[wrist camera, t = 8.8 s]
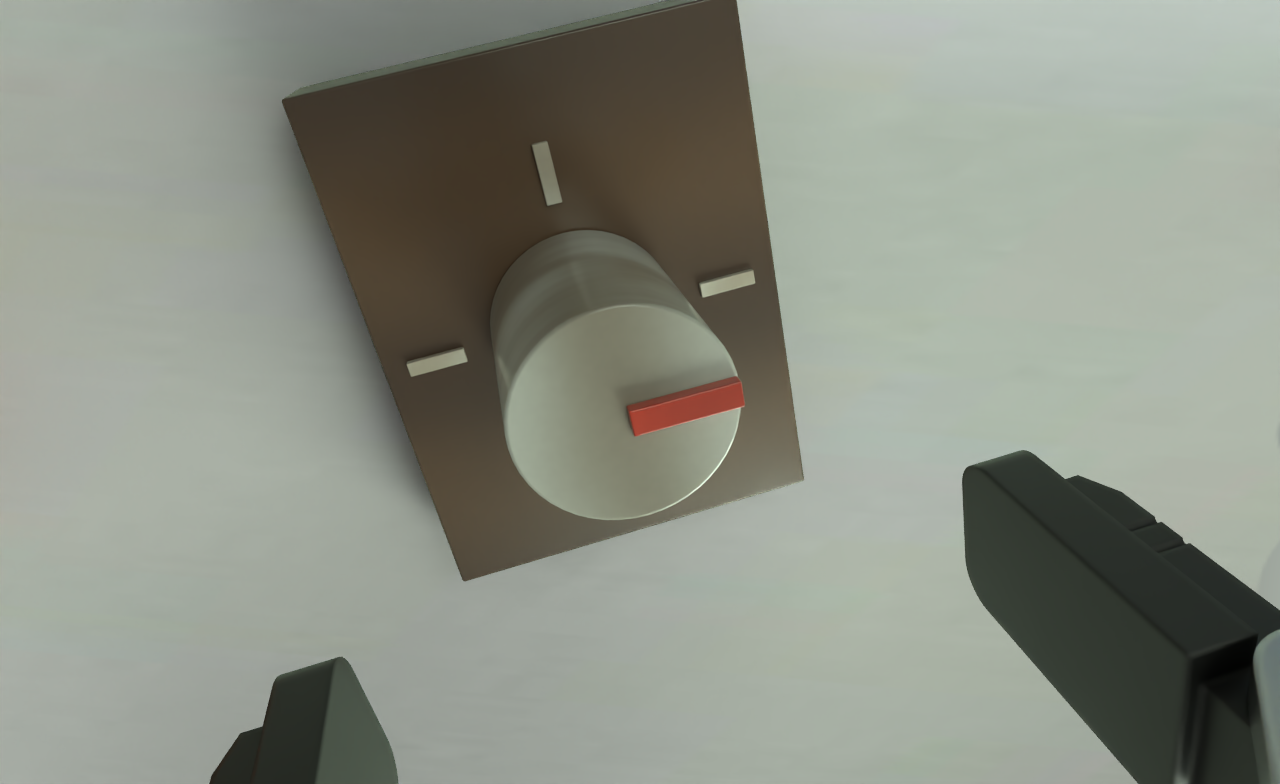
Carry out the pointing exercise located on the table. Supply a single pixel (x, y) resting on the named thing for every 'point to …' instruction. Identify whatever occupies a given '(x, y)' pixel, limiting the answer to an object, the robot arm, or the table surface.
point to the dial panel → (536, 210)
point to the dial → (608, 378)
